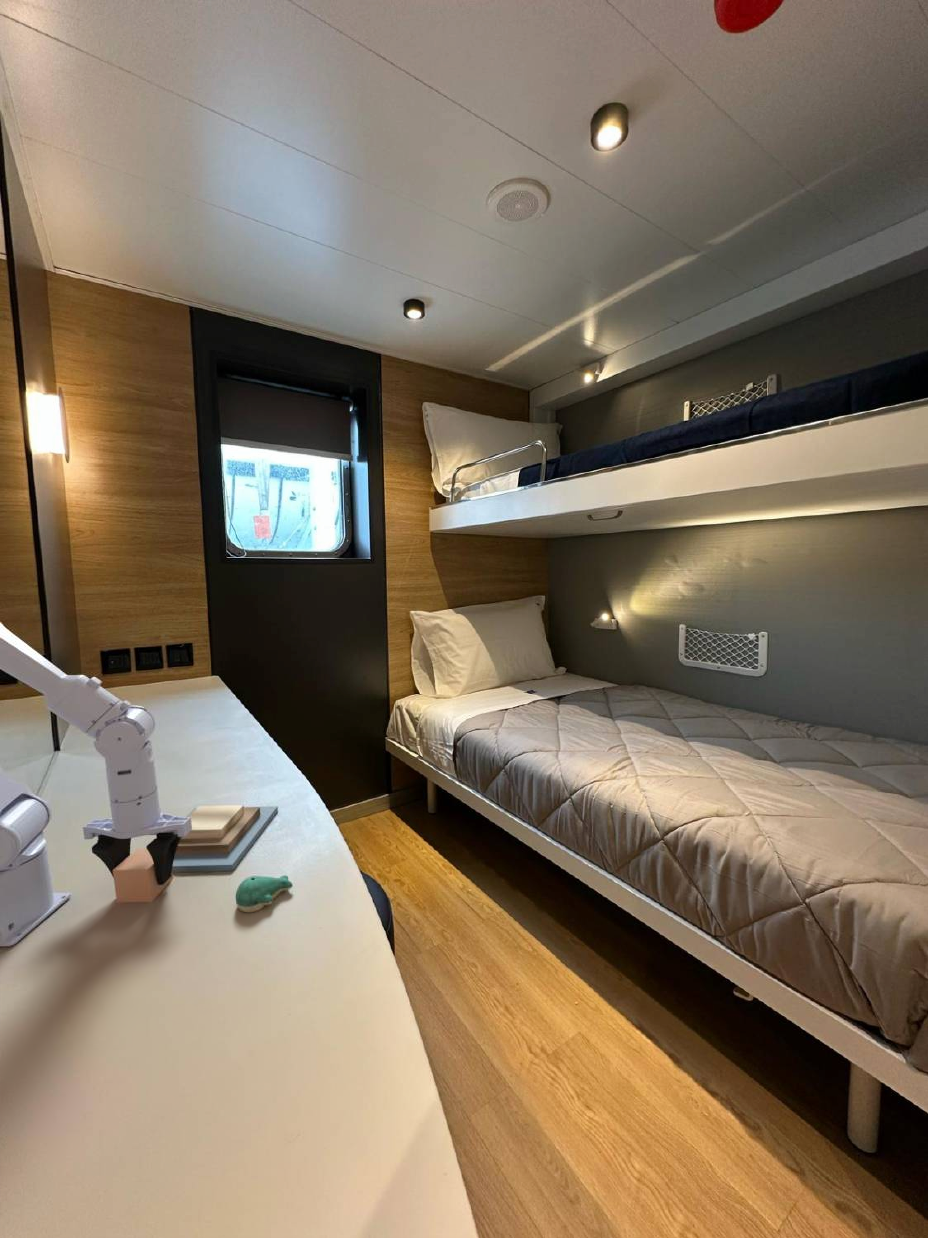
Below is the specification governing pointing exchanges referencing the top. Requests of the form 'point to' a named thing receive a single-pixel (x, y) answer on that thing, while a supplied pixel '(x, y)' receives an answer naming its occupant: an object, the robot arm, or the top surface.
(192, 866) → the plinth board
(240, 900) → the whale figurine
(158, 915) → the top surface
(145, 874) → the terracotta block
